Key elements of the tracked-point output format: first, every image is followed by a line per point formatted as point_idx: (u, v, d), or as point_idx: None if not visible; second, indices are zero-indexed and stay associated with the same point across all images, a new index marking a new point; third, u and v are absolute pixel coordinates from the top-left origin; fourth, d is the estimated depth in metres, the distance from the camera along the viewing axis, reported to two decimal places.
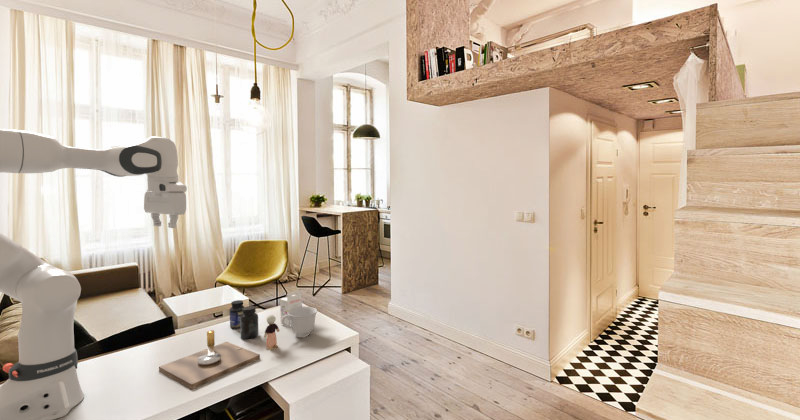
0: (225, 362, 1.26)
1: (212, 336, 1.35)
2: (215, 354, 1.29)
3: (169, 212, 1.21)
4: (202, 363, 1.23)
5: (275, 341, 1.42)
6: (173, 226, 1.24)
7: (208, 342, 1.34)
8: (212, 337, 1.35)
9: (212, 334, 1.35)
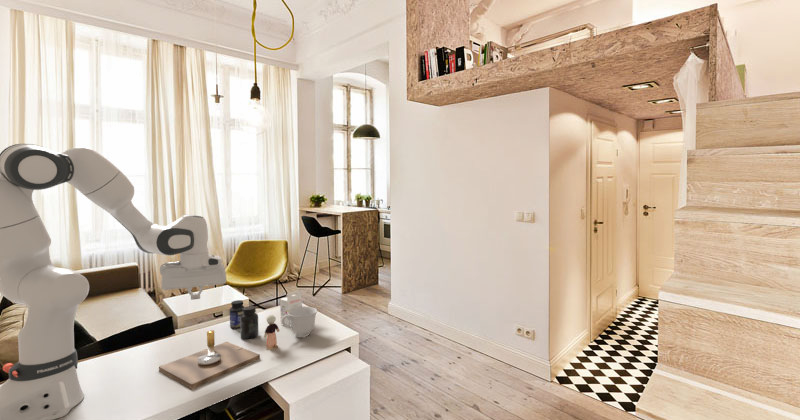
0: (225, 362, 1.26)
1: (212, 336, 1.35)
2: (215, 354, 1.29)
3: (216, 283, 1.33)
4: (202, 363, 1.23)
5: (275, 341, 1.42)
6: None
7: (208, 342, 1.34)
8: (212, 337, 1.35)
9: (212, 334, 1.35)
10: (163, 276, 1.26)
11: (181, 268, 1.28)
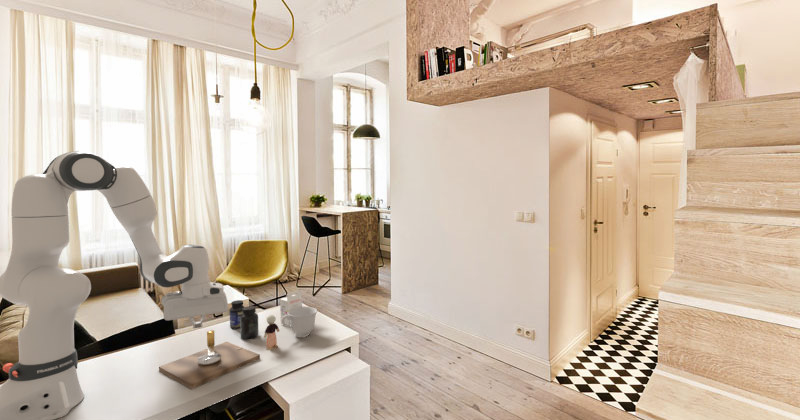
0: (225, 362, 1.26)
1: (212, 336, 1.35)
2: (215, 354, 1.29)
3: (218, 311, 1.34)
4: (202, 363, 1.23)
5: (275, 341, 1.42)
6: None
7: (208, 342, 1.34)
8: (212, 337, 1.35)
9: (212, 334, 1.35)
10: (165, 307, 1.27)
11: (183, 298, 1.29)
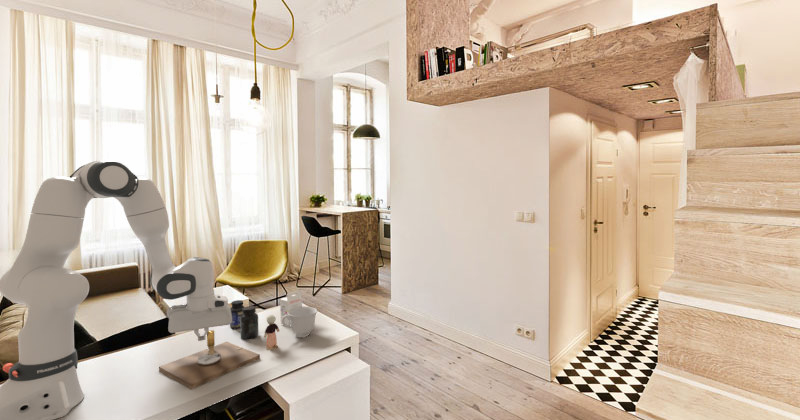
0: (225, 362, 1.26)
1: (212, 336, 1.35)
2: (215, 354, 1.29)
3: (222, 324, 1.35)
4: (202, 363, 1.23)
5: (275, 341, 1.42)
6: None
7: (208, 342, 1.34)
8: (212, 337, 1.35)
9: (212, 334, 1.35)
10: (170, 319, 1.28)
11: (188, 311, 1.30)
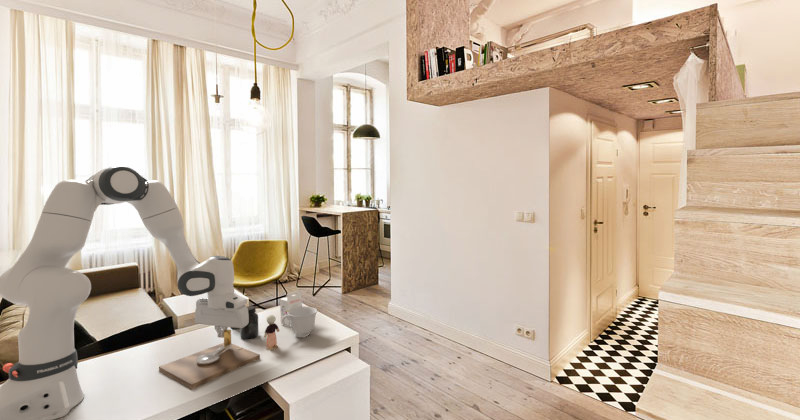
0: (225, 362, 1.26)
1: (227, 336, 1.35)
2: (216, 355, 1.28)
3: (234, 326, 1.33)
4: (196, 361, 1.24)
5: (275, 341, 1.42)
6: (223, 335, 1.37)
7: (224, 341, 1.36)
8: (227, 337, 1.35)
9: (227, 334, 1.35)
10: (195, 311, 1.36)
11: None
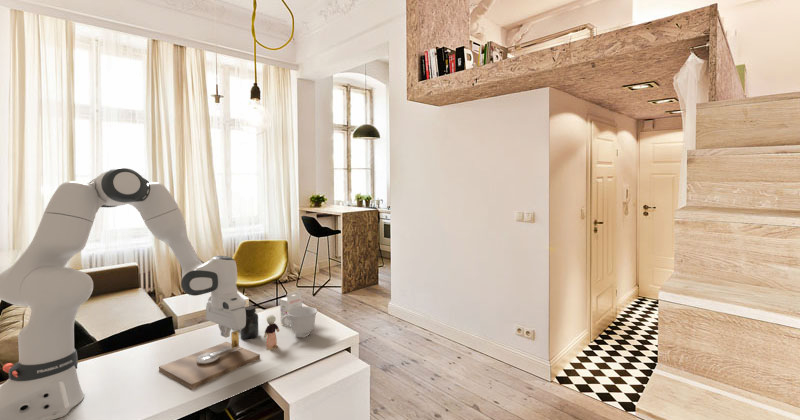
0: (225, 362, 1.26)
1: (233, 337, 1.34)
2: (216, 356, 1.28)
3: (231, 327, 1.32)
4: (196, 359, 1.26)
5: (275, 341, 1.42)
6: (227, 335, 1.37)
7: None
8: (233, 338, 1.34)
9: (233, 335, 1.34)
10: (206, 307, 1.41)
11: None
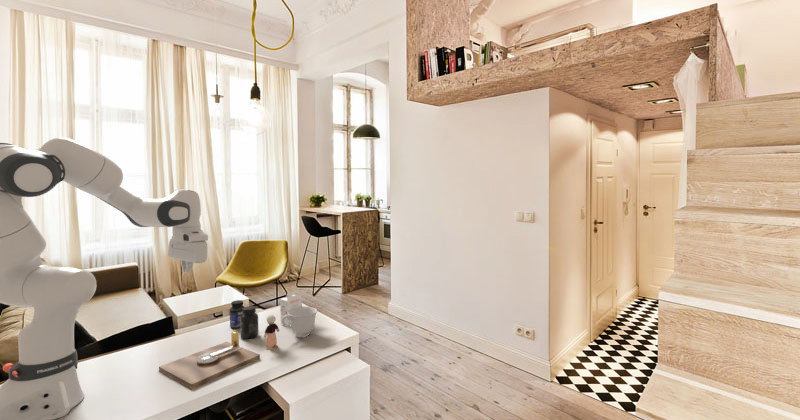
0: (225, 362, 1.26)
1: (233, 337, 1.34)
2: (216, 356, 1.28)
3: (191, 260, 1.29)
4: (196, 359, 1.26)
5: (275, 341, 1.42)
6: (189, 271, 1.34)
7: None
8: (233, 338, 1.34)
9: (233, 335, 1.34)
10: (169, 245, 1.38)
11: (176, 240, 1.35)
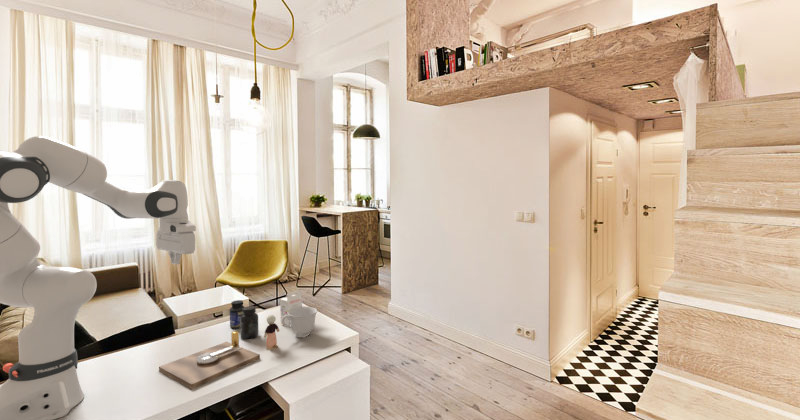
0: (225, 362, 1.26)
1: (233, 337, 1.34)
2: (216, 356, 1.28)
3: (179, 251, 1.28)
4: (196, 359, 1.26)
5: (275, 341, 1.42)
6: (177, 263, 1.33)
7: None
8: (233, 338, 1.34)
9: (233, 335, 1.34)
10: None
11: None
